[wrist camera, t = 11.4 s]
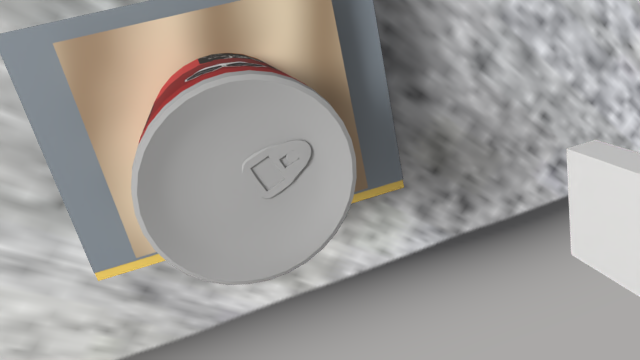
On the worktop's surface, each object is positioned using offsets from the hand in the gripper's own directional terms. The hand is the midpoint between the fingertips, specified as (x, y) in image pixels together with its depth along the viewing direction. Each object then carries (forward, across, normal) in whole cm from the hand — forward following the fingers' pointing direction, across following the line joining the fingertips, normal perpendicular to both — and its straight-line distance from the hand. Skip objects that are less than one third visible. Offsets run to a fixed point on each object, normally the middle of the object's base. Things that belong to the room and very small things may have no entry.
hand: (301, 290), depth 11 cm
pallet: (+20, 0, 0) cm, 20 cm away
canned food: (+19, 0, 0) cm, 19 cm away
